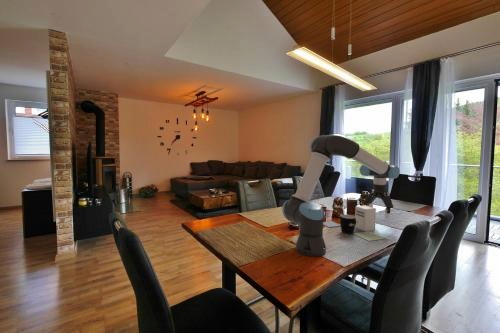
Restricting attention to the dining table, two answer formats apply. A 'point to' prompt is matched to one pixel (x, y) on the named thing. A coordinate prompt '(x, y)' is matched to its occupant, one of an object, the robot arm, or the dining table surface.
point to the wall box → (365, 217)
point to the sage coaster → (369, 236)
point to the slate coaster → (331, 224)
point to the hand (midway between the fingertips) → (378, 215)
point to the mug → (347, 223)
